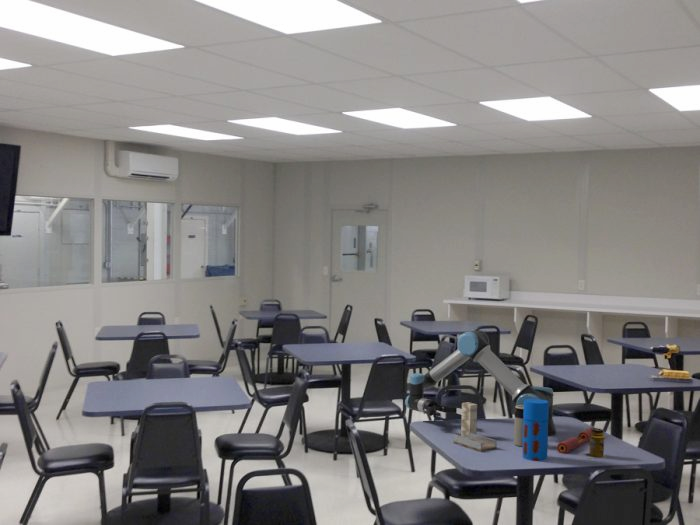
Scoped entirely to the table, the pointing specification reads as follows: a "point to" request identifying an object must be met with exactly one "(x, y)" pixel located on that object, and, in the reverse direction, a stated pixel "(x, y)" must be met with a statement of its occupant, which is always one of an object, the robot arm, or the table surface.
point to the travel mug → (518, 425)
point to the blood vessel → (574, 441)
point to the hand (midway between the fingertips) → (455, 414)
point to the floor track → (476, 442)
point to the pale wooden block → (469, 419)
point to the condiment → (596, 444)
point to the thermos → (535, 429)
